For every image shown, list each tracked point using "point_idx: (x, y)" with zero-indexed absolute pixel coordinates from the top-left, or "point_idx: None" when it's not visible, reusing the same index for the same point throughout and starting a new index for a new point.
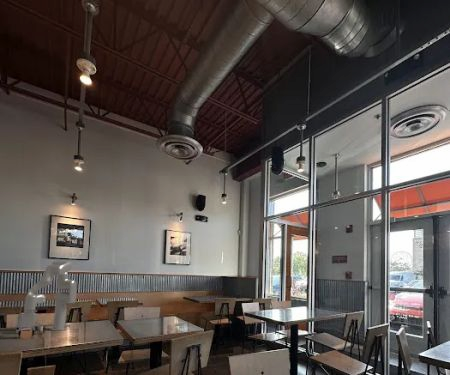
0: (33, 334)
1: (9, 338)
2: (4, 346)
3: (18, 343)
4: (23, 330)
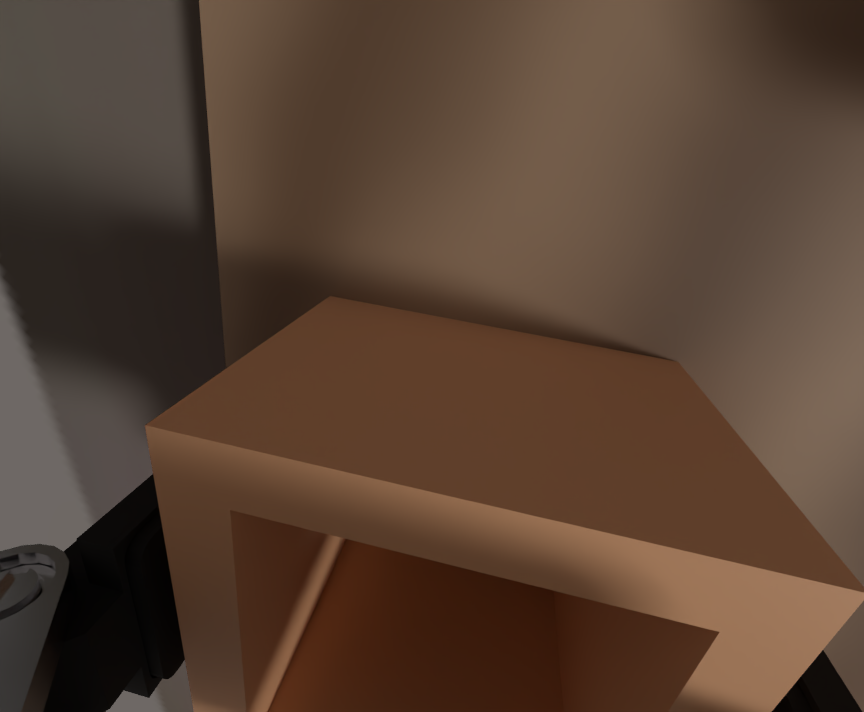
0: None
1: (21, 10)
2: (160, 702)
3: None
4: (265, 493)
